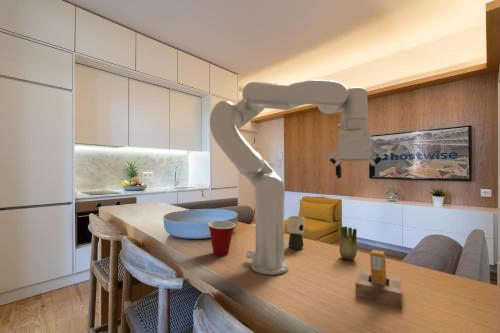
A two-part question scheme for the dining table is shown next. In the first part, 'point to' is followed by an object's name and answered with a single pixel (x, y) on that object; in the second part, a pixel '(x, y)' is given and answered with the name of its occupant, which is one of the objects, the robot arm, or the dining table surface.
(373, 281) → the supplement box
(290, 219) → the character mug
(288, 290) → the dining table surface
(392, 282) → the square wooden frame
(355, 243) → the fennel bulb
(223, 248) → the plastic cup
